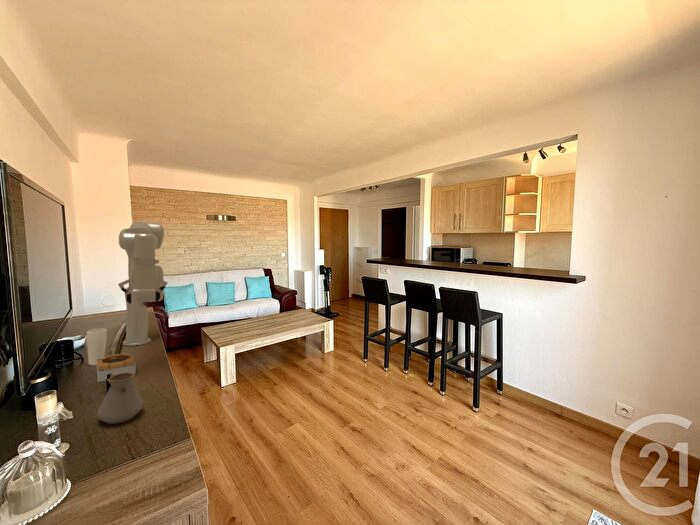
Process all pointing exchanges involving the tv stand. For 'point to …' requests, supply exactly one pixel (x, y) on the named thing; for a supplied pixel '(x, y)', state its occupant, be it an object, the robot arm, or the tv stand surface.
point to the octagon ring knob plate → (115, 365)
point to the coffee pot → (120, 400)
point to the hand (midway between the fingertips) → (143, 302)
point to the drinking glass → (96, 345)
